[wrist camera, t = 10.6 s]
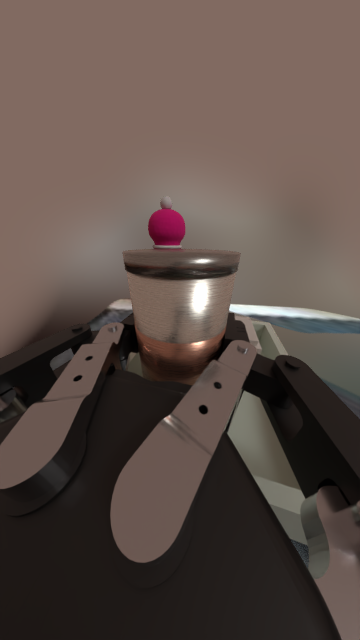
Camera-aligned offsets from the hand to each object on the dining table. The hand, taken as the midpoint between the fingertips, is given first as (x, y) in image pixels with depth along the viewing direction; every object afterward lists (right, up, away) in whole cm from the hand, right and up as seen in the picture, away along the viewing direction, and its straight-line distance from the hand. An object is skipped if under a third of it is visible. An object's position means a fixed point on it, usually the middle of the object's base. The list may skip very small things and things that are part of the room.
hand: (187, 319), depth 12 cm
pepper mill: (-3, +1, +20) cm, 20 cm away
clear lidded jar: (-1, -7, +1) cm, 7 cm away
